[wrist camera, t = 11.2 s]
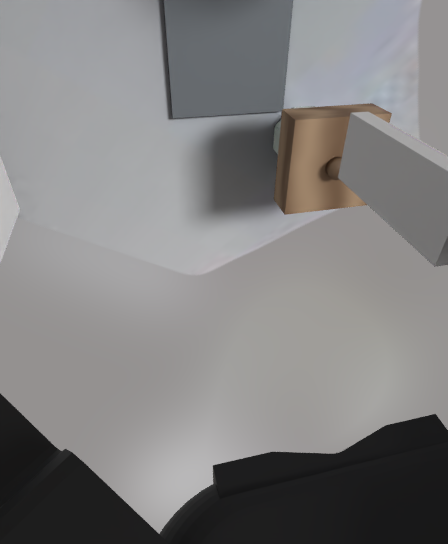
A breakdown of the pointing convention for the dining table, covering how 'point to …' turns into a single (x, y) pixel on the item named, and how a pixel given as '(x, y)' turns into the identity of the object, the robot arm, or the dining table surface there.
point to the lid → (315, 158)
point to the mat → (227, 55)
